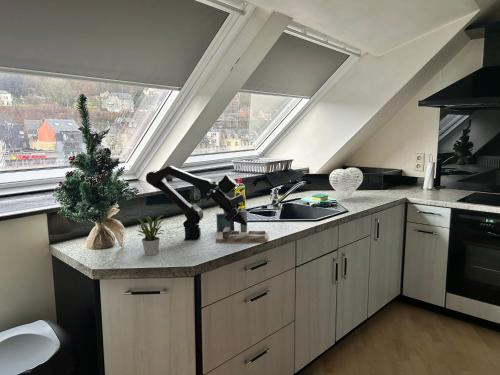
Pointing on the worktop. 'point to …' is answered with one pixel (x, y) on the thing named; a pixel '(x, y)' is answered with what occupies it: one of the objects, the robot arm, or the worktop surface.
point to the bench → (241, 236)
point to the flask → (223, 222)
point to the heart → (341, 171)
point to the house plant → (150, 236)
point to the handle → (244, 228)
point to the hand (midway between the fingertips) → (246, 223)
